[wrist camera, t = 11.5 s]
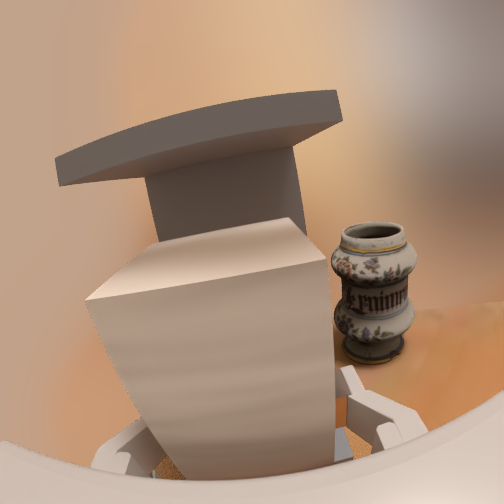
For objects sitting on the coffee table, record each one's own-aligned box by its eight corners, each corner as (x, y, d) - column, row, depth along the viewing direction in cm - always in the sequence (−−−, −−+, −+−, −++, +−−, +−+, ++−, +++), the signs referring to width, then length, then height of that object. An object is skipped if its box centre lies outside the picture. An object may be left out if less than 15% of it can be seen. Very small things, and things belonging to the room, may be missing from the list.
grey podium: (345, 501, 17) (336, 89, 9) (225, 518, 17) (54, 158, 9) (321, 417, 28) (286, 132, 20) (228, 432, 28) (146, 162, 20)
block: (330, 518, 9) (327, 258, 5) (232, 529, 9) (84, 300, 5) (315, 452, 14) (288, 217, 10) (234, 463, 14) (152, 243, 10)
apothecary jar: (376, 381, 31) (380, 248, 26) (319, 347, 42) (307, 234, 37) (425, 338, 36) (432, 223, 31) (370, 315, 47) (366, 215, 42)
